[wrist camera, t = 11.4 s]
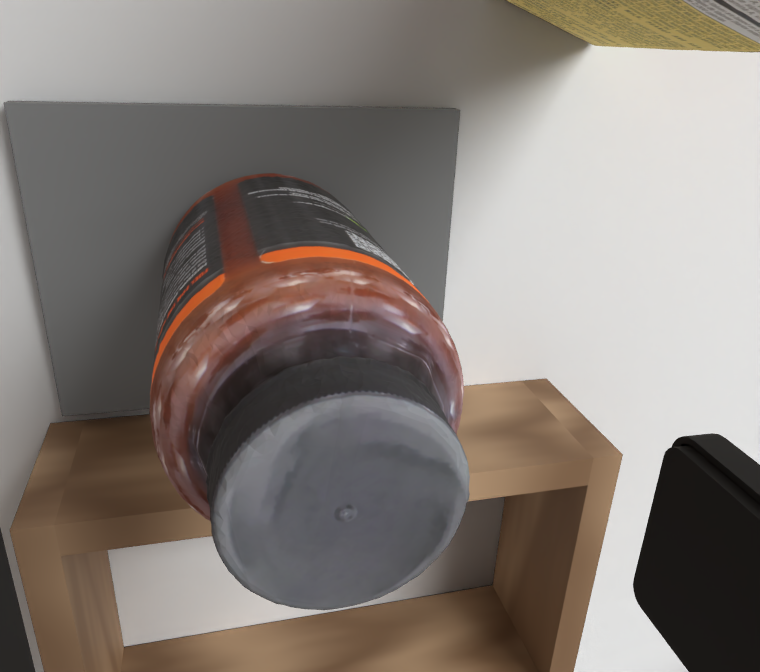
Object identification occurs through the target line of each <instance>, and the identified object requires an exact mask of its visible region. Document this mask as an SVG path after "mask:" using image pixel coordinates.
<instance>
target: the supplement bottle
mask: <svg viewBox="0 0 760 672" xmlns="http://www.w3.org/2000/svg"><path fill="white" fill-rule="evenodd" d="M463 396H464V386H463V375H462V369H461V365H460V361H459V357H458V353H457V350H456V347H455V345H454V342H453V340H452V338H451V336H450V334H449V332H448V330H447V328H446V327H445V325H444V323H443V322H442V320H441V319H440V317H439V315H438V314H437V312H436V311H435V310H434V308H433V307H432V306H431V304H430V303H429V302H428V301H427V300H426V298H425V297H424V296H423V295H422V294H421V292H420V291H419V289H418V288H417V287H416V286H415V285H414V284H413V283H412V281H411V280H410V279H409V278H408V277H407V276H406V275H405V273H404V272H403V271H402V270H401V269H400V268H399V267H398V265H397V264H396V263H395V262H394V261H393V260H392V259H391V258H390V257H389V255H388V254H387V253H386V252H385V251H384V249H383V248H382V247H381V246H380V245H379V244H378V243H377V242H376V241H375V239H374V238H373V237H372V236H371V235H370V233H369V232H368V231H367V229H366V228H364V227H363V226H362V224H361V223H360V222H359V221H358V220H357V219H356V218H355V216H354V215H353V214H352V213H351V212H350V211H349V210H348V209H347V208H346V207H345V206H344V205H343V204H342V203H341V202H340V201H338V200H337V199H336V198H335V197H334V196H332V195H331V194H330V193H329V192H327V191H325V190H324V189H322V188H321V187H319V186H317V185H315V184H313V183H311V182H309V181H305V180H302V179H299V178H296V177H293V176H288V175H282V174H275V173H266V174H255V175H249V176H244V177H240V178H237V179H234V180H231V181H228V182H226V183H224V184H222V185H220V186H218V187H216V188H214V189H212V190H211V191H209V192H207V193H206V194H204V195H203V196H202V197H200V198H199V199H198V200H197V201H196V202H195V203H194V204H193V205H192V206H191V207H190V209H189V210H188V211H187V212H186V213H185V215H184V216H183V217H182V219H181V220H180V222H179V223H178V225H177V227H176V229H175V231H174V233H173V235H172V238H171V240H170V244H169V247H168V250H167V253H166V256H165V260H164V269H163V275H162V286H161V295H160V306H159V314H158V325H157V335H156V344H155V351H154V362H153V372H152V384H151V392H150V421H151V425H152V436H153V441H154V446H155V449H156V451H157V455H158V458H159V460H160V462H161V464H162V467H163V469H164V471H165V473H166V475H167V477H168V478H169V480H170V482H171V483H172V485H173V486H174V487H175V489H176V491H177V492H178V494H179V495H180V496H181V497H182V499H184V500H185V501H186V502H187V503H188V505H190V507H191V508H193V509H194V510H195V511H196V512H197V513H199V514H200V515H202V516H203V517H204V518H205V519H207V520H209V521H211V533H212V536H213V539H214V543H215V546H216V549H217V551H218V553H219V555H220V557H221V559H222V561H223V563H224V564H225V566H226V567H227V569H228V571H229V572H230V573H231V574H232V575H234V577H235V578H236V579H237V580H238V581H239V582H240V583H241V584H242V585H243V586H244V587H245V588H247V589H248V590H250V591H251V592H253V593H255V594H257V595H259V596H261V597H263V598H265V599H267V600H270V601H272V602H274V603H276V604H281V605H286V606H289V607H294V608H301V609H316V610H329V609H337V608H343V607H348V606H353V605H357V604H361V603H364V602H368V601H370V600H373V599H377V598H380V597H382V596H384V595H386V594H388V593H390V592H392V591H394V590H396V589H398V588H400V587H401V586H403V585H404V584H406V583H407V582H409V581H410V580H412V579H414V578H415V577H417V576H418V575H420V574H421V573H422V572H423V571H424V570H425V569H426V568H427V567H428V566H429V565H430V564H431V563H432V562H434V561H435V560H436V559H437V558H438V557H439V555H440V554H441V553H442V552H443V551H444V550H445V548H446V547H447V546H448V545H449V544H450V542H451V540H452V538H453V536H454V535H455V533H456V531H457V529H458V527H459V525H460V522H461V520H462V517H463V514H464V512H465V507H466V503H467V502H468V500H469V495H470V494H469V480H470V475H469V466H468V461H467V457H466V455H465V452H464V450H463V447H462V445H461V443H460V441H459V439H458V437H457V430H458V428H459V424H460V419H461V413H462V406H463Z"/></svg>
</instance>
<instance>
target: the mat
mask: <svg viewBox="0 0 760 672" xmlns="http://www.w3.org/2000/svg"><path fill="white" fill-rule="evenodd" d="M4 107H5V113H6V118H7V123H8V129H9V134H10V139H11V145H12V150H13V155H14V161H15V166H16V171H17V177H18V182H19V187H20V193H21V198H22V203H23V209H24V214H25V220H26V225H27V230H28V236H29V241H30V246H31V252H32V257H33V262H34V268H35V273H36V278H37V284H38V289H39V294H40V300H41V305H42V310H43V316H44V321H45V326H46V332H47V337H48V342H49V348H50V353H51V358H52V364H53V369H54V374H55V380H56V385H57V391H58V396H59V401H60V407H61V412H62V416H71V415H82V414H93V413H105V412H116V411H128V410H139V409H150V392H151V384H152V372H153V362H154V351H155V344H156V335H157V325H158V314H159V306H160V295H161V286H162V275H163V269H164V260H165V256H166V253H167V250H168V247H169V244H170V240H171V238H172V235H173V233H174V231H175V229H176V227H177V225H178V223H179V222H180V220H181V219H182V217H183V216H184V215H185V213H186V212H187V211H188V210H189V209H190V207H191V206H192V205H193V204H194V203H195V202H196V201H197V200H198V199H199V198H200V197H202V196H203V195H204V194H206V193H207V192H209V191H211V190H212V189H214V188H216V187H218V186H220V185H222V184H224V183H226V182H228V181H231V180H234V179H237V178H240V177H244V176H249V175H255V174H266V173H275V174H282V175H288V176H293V177H296V178H299V179H302V180H305V181H309V182H311V183H313V184H315V185H317V186H319V187H321V188H322V189H324V190H325V191H327V192H329V193H330V194H331V195H332V196H334V197H335V198H336V199H337V200H338V201H340V202H341V203H342V204H343V205H344V206H345V207H346V208H347V209H348V210H349V211H350V212H351V213H352V214H353V215H354V216H355V218H356V219H357V220H358V221H359V222H360V223H361V224H362V226H363V227H364V228H366V229H367V231H368V232H369V233H370V235H371V236H372V237H373V238H374V239H375V241H376V242H377V243H378V244H379V245H380V246H381V247H382V248H383V249H384V251H385V252H386V253H387V254H388V255H389V257H390V258H391V259H392V260H393V261H394V262H395V263H396V264H397V265H398V267H399V268H400V269H401V270H402V271H403V272H404V273H405V275H406V276H407V277H408V278H409V279H410V280H411V281H412V283H413V284H414V285H415V286H416V287H417V288H418V289H419V291H420V292H421V294H422V295H423V296H424V297H425V298H426V300H427V301H428V302H429V303H430V304H431V306H432V307H433V308H434V310H435V311H436V312H437V314H438V315H439V317H440V319H441V320H442V321H443V309H444V297H445V286H446V274H447V262H448V250H449V238H450V226H451V214H452V202H453V190H454V178H455V166H456V154H457V142H458V130H459V118H460V110H458V109H454V108H397V107H338V106H278V105H219V104H159V103H99V102H40V101H7V102H5V103H4Z"/></svg>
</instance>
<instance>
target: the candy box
mask: <svg viewBox="0 0 760 672" xmlns="http://www.w3.org/2000/svg"><path fill="white" fill-rule="evenodd" d="M506 1H508V2H510V3H512V4H514V5H516V6H518V7H520V8H522V9H524V10H526V11H528V12H530V13H532V14H533V15H535V16H537V17H539V18H541V19H543V20H545V21H547V22H549V23H551V24H553V25H555V26H557V27H559V28H561V29H563V30H564V31H566V32H568V33H570V34H572V35H574V36H576V37H578V38H580V39H582V40H584V41H586V42H588V43H590V44H592V45H595V46H612V47H633V48H655V49H669V50H702V51H733V52H760V0H506Z"/></svg>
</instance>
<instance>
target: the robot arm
mask: <svg viewBox="0 0 760 672" xmlns="http://www.w3.org/2000/svg"><path fill="white" fill-rule="evenodd" d="M633 588H634V593H635V597H636V600H637V602H638V604H639V605H640V607H641V609H642V610H643V611H644V613H645V614H646V615H647V617H648V618H649V619H650V621H651V622H652V623H653V625H654V626H655V627H656V629H657V630H658V631H659V633H660V634H661V635H662V637H663V638H664V639H665V641H666V642H667V643H668V645H669V646H670V647H671V649H672V650H673V651H674V653H675V654H676V655H677V657H678V658H679V659H680V661H681V662H682V663H683V665H684V666H685V667H686V669H687V670H688V671H689V672H760V465H759V464H758V463H757V462H755V461H754V460H753V459H752V458H750V457H749V456H748V455H746V454H745V453H744V452H743V451H741V450H740V449H739V448H737V447H736V446H735V445H734V444H732V443H731V442H730V441H728V440H727V439H726V438H724V437H723V436H721V435H719V434H703V435H693V436H683V437H680V438H678V439H677V440H676V441H675V442H674V443H673V445H672V448H669V449H668V450H667V451H666V452H665V455H664V458H663V462H662V466H661V470H660V474H659V478H658V482H657V486H656V491H655V495H654V499H653V503H652V507H651V511H650V515H649V519H648V523H647V527H646V532H645V536H644V540H643V544H642V548H641V552H640V556H639V560H638V564H637V568H636V573H635V577H634V582H633ZM0 672H35V669H34V665H33V660H32V656H31V652H30V648H29V644H28V640H27V636H26V632H25V628H24V624H23V619H22V615H21V611H20V607H19V603H18V599H17V595H16V591H15V587H14V583H13V578H12V574H11V570H10V566H9V562H8V558H7V554H6V550H5V546H4V542H3V538H2V533H1V529H0Z"/></svg>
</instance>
